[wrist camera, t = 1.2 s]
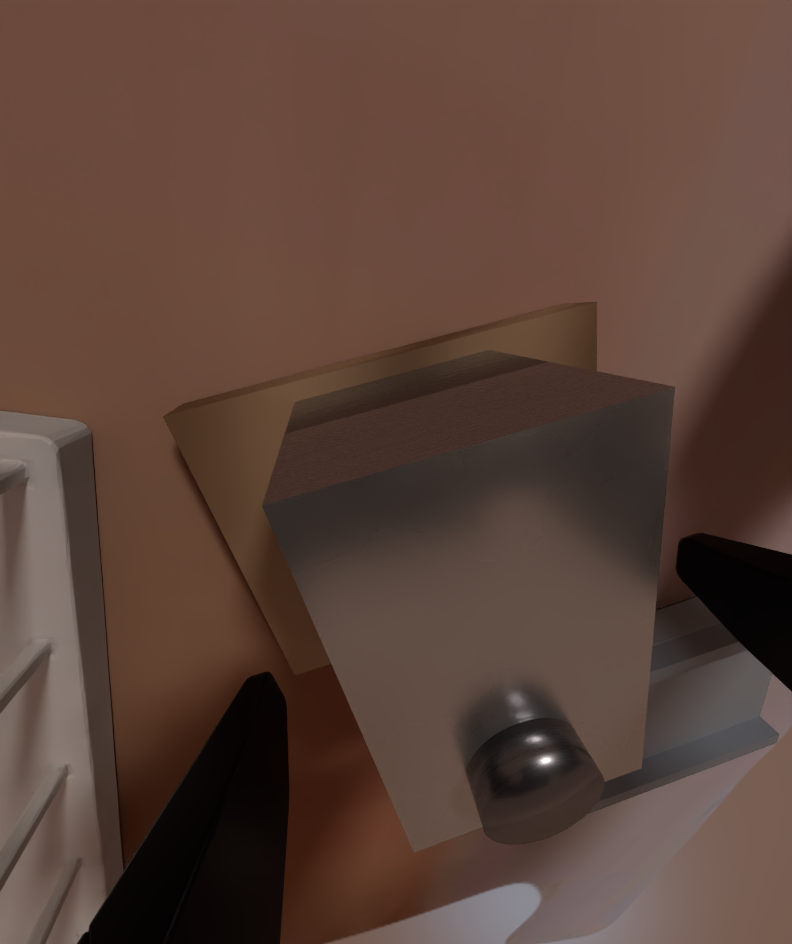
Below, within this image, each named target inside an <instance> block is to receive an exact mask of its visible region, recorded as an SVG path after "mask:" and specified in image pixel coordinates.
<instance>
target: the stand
mask: <svg viewBox="0 0 792 944" xmlns="http://www.w3.org/2000/svg"><path fill="white" fill-rule="evenodd" d="M486 350H493V351H498V352H503V353H508V354H513V355H518V356H523V357H528V358H533V359H538V360H543V361H548V362H553V363H558V364H563V365H568V366H573V367H578V368H583V369H588V370H593V371H597V302H587V303H568V304H562V305H558V306H554V307H550V308H546V309H543V310H539V311H535V312H531V313H527V314H524V315H520V316H516V317H512V318H508V319H505V320H501V321H497V322H493V323H489V324H485V325H482V326H478V327H474V328H470V329H466V330H463V331H459V332H455V333H451V334H447V335H444V336H440V337H436V338H432V339H428V340H425V341H421V342H417V343H413V344H409V345H406V346H402V347H398V348H394V349H390V350H387V351H383V352H379V353H375V354H371V355H368V356H364V357H360V358H356V359H352V360H349V361H345V362H341V363H337V364H333V365H330V366H326V367H322V368H318V369H314V370H311V371H307V372H303V373H299V374H295V375H292V376H288V377H284V378H280V379H276V380H272V381H269V382H265V383H261V384H257V385H253V386H250V387H246V388H242V389H238V390H234V391H231V392H227V393H223V394H219V395H215V396H212V397H208V398H204V399H200V400H196V401H193V402H189V403H185V404H182V405H181V406H179V407H177V408H176V409H174V410H173V411H171V412H170V413H168V414H166V415H165V416H163V418H164V420H165V421H166V423H167V425H168V427H169V429H170V431H171V433H172V435H173V437H174V439H175V441H176V443H177V445H178V447H179V449H180V451H181V453H182V455H183V457H184V459H185V461H186V463H187V465H188V467H189V469H190V471H191V473H192V475H193V477H194V478H195V480H196V482H197V484H198V486H199V488H200V490H201V492H202V494H203V496H204V498H205V500H206V502H207V504H208V506H209V508H210V510H211V512H212V514H213V516H214V518H215V520H216V522H217V524H218V526H219V528H220V530H221V532H222V534H223V536H224V537H225V539H226V541H227V543H228V545H229V547H230V549H231V551H232V553H233V555H234V557H235V559H236V561H237V563H238V565H239V567H240V569H241V571H242V573H243V575H244V577H245V579H246V581H247V583H248V585H249V587H250V589H251V591H252V593H253V594H254V596H255V598H256V600H257V602H258V604H259V606H260V608H261V610H262V612H263V614H264V616H265V618H266V620H267V622H268V624H269V626H270V628H271V630H272V632H273V634H274V636H275V638H276V640H277V642H278V644H279V646H280V648H281V650H282V652H283V653H284V655H285V657H286V659H287V661H288V663H289V665H290V667H291V669H292V671H293V673H294V675H295V676H296V675H299V674H302V673H305V672H308V671H311V670H314V669H317V668H320V667H323V666H326V665H329V664H331V662H330V660H329V657H328V655H327V653H326V651H325V648H324V646H323V644H322V641H321V639H320V637H319V635H318V632H317V630H316V628H315V626H314V623H313V621H312V619H311V616H310V614H309V612H308V610H307V607H306V605H305V603H304V600H303V598H302V596H301V594H300V591H299V589H298V587H297V584H296V582H295V580H294V578H293V575H292V573H291V571H290V569H289V566H288V564H287V562H286V559H285V557H284V555H283V553H282V550H281V548H280V546H279V543H278V541H277V539H276V537H275V534H274V532H273V530H272V527H271V525H270V523H269V521H268V518H267V516H266V514H265V512H264V509H263V507H262V504H263V501H264V498H265V494H266V491H267V488H268V485H269V482H270V479H271V476H272V472H273V469H274V466H275V463H276V460H277V457H278V453H279V450H280V447H281V444H282V441H283V438H284V434H285V431H286V428H287V425H288V422H289V419H290V415H291V412H292V409H293V406H294V403H295V402H296V401H300V400H304V399H307V398H311V397H315V396H319V395H322V394H326V393H330V392H334V391H337V390H341V389H345V388H348V387H352V386H356V385H360V384H363V383H367V382H371V381H375V380H378V379H382V378H386V377H389V376H393V375H397V374H401V373H404V372H408V371H412V370H415V369H419V368H423V367H427V366H430V365H434V364H438V363H442V362H445V361H449V360H453V359H456V358H460V357H464V356H468V355H471V354H475V353H479V352H483V351H486Z"/></svg>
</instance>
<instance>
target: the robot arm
mask: <svg viewBox="0 0 792 944" xmlns="http://www.w3.org/2000/svg"><path fill="white" fill-rule="evenodd" d="M676 571H677V573H678V575H679V577H680V578H681V580H682V581H683V582H684V583H685V584H686V585H687V586H688V587H689V589H690V590H691V591H692V592H693V593H694V594H695V595H696V596H697V597H698V598H699V599H700V601H701V602H702V603H703V604H704V605H705V606H706V607H707V608H708V609H709V610H710V611H711V613H712V614H713V615H714V616H715V617H716V618H717V619H718V620H719V621H720V622H721V624H722V625H723V626H724V627H725V628H726V629H727V630H728V631H729V632H730V633H731V634H732V635H733V636H734V637H735V638H736V639H737V641H738V642H739V643H741V644H742V645H743V646H744V647H745V648H746V649H747V650H748V651H749V652H750V653H751V654H752V655H753V656H754V657H755V658H756V659H757V660H758V661H760V662H761V663H762V664H763V665H764V666H765V667H766V668H767V669H768V670H769V671H770V672H771V673H772V674H773V675H775V676H776V677H777V678H778V679H779V680H780V681H781V682H782V683H783V684H784V685H785V686H786V687H787V688H789V689H790V690H791V691H792V555H791V554H787V553H783V552H779V551H775V550H770V549H766V548H762V547H758V546H754V545H750V544H746V543H741V542H737V541H733V540H729V539H725V538H721V537H716V536H712V535H708V534H704V533H696V534H693V535H690V536H687V537H684V538H682V539H681V540H680V541H679V544H678V551H677V560H676ZM288 811H289V767H288V734H287V707H286V701H285V698H284V695H283V693H282V691H281V690H280V688H279V686H278V684H277V682H276V681H275V679H274V677H273V675H272V674H271V673H270V672H263V673H260V674H257V675H254V676H251V677H249V678H248V679H247V680H246V681H245V683H244V684H243V686H242V687H241V689H240V690H239V692H238V693H237V695H236V697H235V698H234V700H233V701H232V703H231V704H230V706H229V708H228V709H227V711H226V712H225V714H224V715H223V717H222V718H221V720H220V722H219V723H218V725H217V726H216V728H215V729H214V731H213V732H212V734H211V736H210V737H209V739H208V740H207V742H206V743H205V745H204V747H203V748H202V750H201V751H200V753H199V754H198V756H197V757H196V759H195V761H194V762H193V764H192V765H191V767H190V768H189V770H188V771H187V773H186V775H185V776H184V778H183V779H182V781H181V782H180V784H179V786H178V787H177V789H176V790H175V792H174V793H173V795H172V796H171V798H170V800H169V801H168V803H167V804H166V806H165V807H164V809H163V810H162V812H161V814H160V815H159V817H158V818H157V820H156V821H155V823H154V824H153V826H152V828H151V829H150V831H149V832H148V834H147V835H146V837H145V839H144V840H143V842H142V843H141V845H140V846H139V848H138V849H137V851H136V853H135V854H134V856H133V857H132V859H131V860H130V862H129V863H128V865H127V867H126V868H125V870H124V871H123V873H122V874H121V876H120V878H119V879H118V881H117V882H116V884H115V885H114V887H113V888H112V890H111V892H110V893H109V895H108V896H107V898H106V899H105V901H104V902H103V904H102V906H101V907H100V909H99V910H98V912H97V913H96V915H95V916H94V918H93V920H92V921H91V923H90V925H89V929H88V932H85V933H84V934H83V935H82V936H81V938H80V940H79V941H78V943H77V944H280V935H281V920H282V904H283V889H284V873H285V858H286V843H287V827H288Z"/></svg>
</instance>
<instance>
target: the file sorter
mask: <svg viewBox="0 0 792 944" xmlns="http://www.w3.org/2000/svg"><path fill="white" fill-rule="evenodd" d="M122 873H123V860H122V849H121V838H120V825H119V808H118V793H117V782H116V771H115V757H114V742H113V726H112V712H111V699H110V686H109V672H108V658H107V644H106V629H105V615H104V600H103V588H102V575H101V562H100V549H99V536H98V524H97V510H96V496H95V482H94V467H93V452H92V433H91V431H90V430H89V428H88V426H86V425H85V424H84V423H82V422H79V421H76V420H70V419H62V418H54V417H46V416H38V415H30V414H22V413H14V412H6V411H0V944H77V943H78V941H79V940H80V938H81V936H82V935H83V934H84V933H85V932H88V929H89V925H90V923H91V921H92V920H93V918H94V916H95V915H96V913H97V912H98V910H99V909H100V907H101V906H102V904H103V902H104V901H105V899H106V898H107V896H108V895H109V893H110V892H111V890H112V888H113V887H114V885H115V884H116V882H117V881H118V879H119V878H120V876H121V874H122Z"/></svg>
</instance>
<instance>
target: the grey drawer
mask: <svg viewBox="0 0 792 944" xmlns="http://www.w3.org/2000/svg"><path fill="white" fill-rule="evenodd" d="M674 393H675V387H674V386H669V385H664V384H659V383H654V382H649V381H644V380H638V379H633V378H628V377H623V376H618V375H613V374H608V373H603V372H598V371H593V370H588V369H583V368H578V367H573V366H568V365H563V364H558V363H553V362H548V361H543V360H538V359H533V358H528V357H523V356H518V355H513V354H508V353H503V352H498V351H493V350H486V351H483V352H479V353H475V354H471V355H468V356H464V357H460V358H456V359H453V360H449V361H445V362H442V363H438V364H434V365H430V366H427V367H423V368H419V369H415V370H412V371H408V372H404V373H401V374H397V375H393V376H389V377H386V378H382V379H378V380H375V381H371V382H367V383H363V384H360V385H356V386H352V387H348V388H345V389H341V390H337V391H334V392H330V393H326V394H322V395H319V396H315V397H311V398H307V399H304V400H300V401H296V402H295V403H294V406H293V409H292V412H291V415H290V419H289V422H288V425H287V428H286V431H285V434H284V438H283V441H282V444H281V447H280V450H279V453H278V457H277V460H276V463H275V466H274V469H273V472H272V476H271V479H270V482H269V485H268V488H267V491H266V494H265V498H264V501H263V504H262V507H263V509H264V512H265V514H266V516H267V518H268V521H269V523H270V525H271V527H272V530H273V532H274V534H275V537H276V539H277V541H278V543H279V546H280V548H281V550H282V553H283V555H284V557H285V559H286V562H287V564H288V566H289V569H290V571H291V573H292V575H293V578H294V580H295V582H296V584H297V587H298V589H299V591H300V594H301V596H302V598H303V600H304V603H305V605H306V607H307V610H308V612H309V614H310V616H311V619H312V621H313V623H314V626H315V628H316V630H317V632H318V635H319V637H320V639H321V641H322V644H323V646H324V648H325V651H326V653H327V655H328V657H329V660H330V662H331V664H332V667H333V669H334V671H335V673H336V676H337V678H338V680H339V683H340V685H341V687H342V689H343V692H344V694H345V696H346V698H347V701H348V703H349V705H350V708H351V710H352V712H353V714H354V717H355V719H356V721H357V724H358V726H359V728H360V730H361V733H362V735H363V737H364V740H365V742H366V744H367V746H368V749H369V751H370V753H371V755H372V758H373V760H374V762H375V765H376V767H377V769H378V771H379V774H380V776H381V778H382V781H383V783H384V785H385V787H386V790H387V792H388V794H389V797H390V799H391V801H392V803H393V806H394V808H395V810H396V812H397V815H398V817H399V819H400V822H401V824H402V826H403V828H404V831H405V833H406V835H407V838H408V840H409V842H410V844H411V847H412V849H413V851H414V852H417V851H420V850H422V849H425V848H428V847H430V846H433V845H436V844H438V843H441V842H444V841H447V840H449V839H452V838H455V837H457V836H460V835H463V834H465V833H468V832H471V831H474V830H476V829H479V828H482V827H483V829H484V832H485V834H486V835H487V836H488V837H489V838H490V839H492V840H494V841H496V842H499V843H503V844H525V843H530V842H535V841H539V840H542V839H545V838H548V837H550V836H553V835H555V834H557V833H559V832H561V831H563V830H565V829H567V828H569V827H570V826H572V825H573V824H575V823H576V822H578V821H579V820H580V819H582V818H583V817H584V816H585V815H587V814H588V813H589V812H590V811H591V810H592V809H593V807H594V806H595V805H596V804H597V802H598V801H599V799H600V797H601V795H602V793H603V790H604V785H605V782H606V781H609V780H611V779H614V778H617V777H619V776H622V775H625V774H627V773H630V772H633V771H636V770H638V769H641V768H642V759H643V747H644V736H645V724H646V713H647V701H648V690H649V679H650V667H651V656H652V644H653V633H654V621H655V610H656V598H657V587H658V576H659V564H660V553H661V541H662V530H663V518H664V507H665V495H666V484H667V473H668V461H669V450H670V438H671V427H672V415H673V404H674Z"/></svg>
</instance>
